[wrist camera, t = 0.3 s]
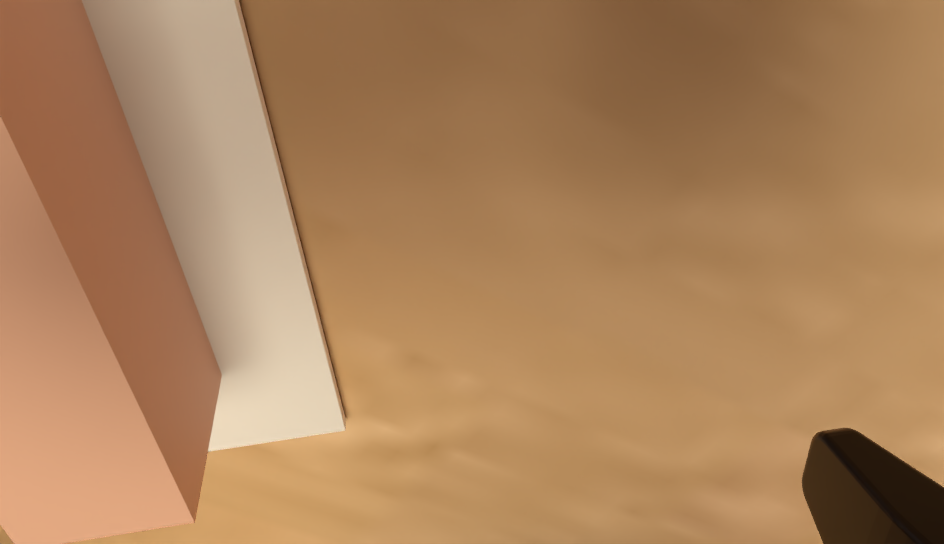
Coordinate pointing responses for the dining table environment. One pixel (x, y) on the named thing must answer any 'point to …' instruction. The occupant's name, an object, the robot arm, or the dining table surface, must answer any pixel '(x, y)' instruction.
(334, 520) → the dining table surface
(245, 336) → the mat
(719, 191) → the dining table surface
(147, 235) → the t block
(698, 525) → the dining table surface
